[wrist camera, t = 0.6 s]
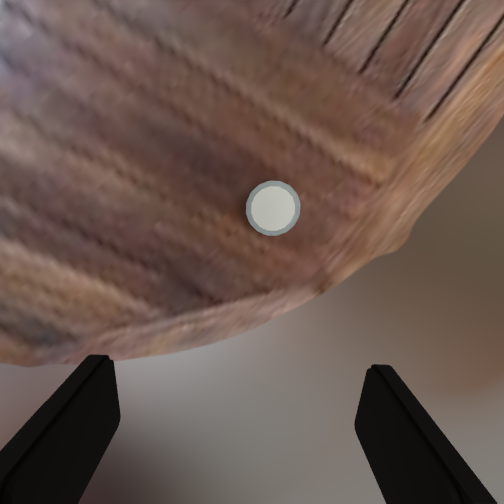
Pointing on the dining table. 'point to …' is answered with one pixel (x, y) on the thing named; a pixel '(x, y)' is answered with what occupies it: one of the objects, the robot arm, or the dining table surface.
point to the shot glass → (273, 208)
